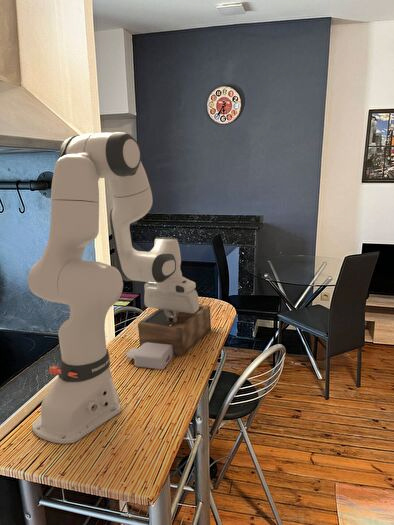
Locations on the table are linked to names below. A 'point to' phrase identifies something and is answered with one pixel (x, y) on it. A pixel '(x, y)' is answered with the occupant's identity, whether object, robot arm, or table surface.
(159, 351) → the charger
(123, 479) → the table surface
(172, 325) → the crate
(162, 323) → the tailgate
